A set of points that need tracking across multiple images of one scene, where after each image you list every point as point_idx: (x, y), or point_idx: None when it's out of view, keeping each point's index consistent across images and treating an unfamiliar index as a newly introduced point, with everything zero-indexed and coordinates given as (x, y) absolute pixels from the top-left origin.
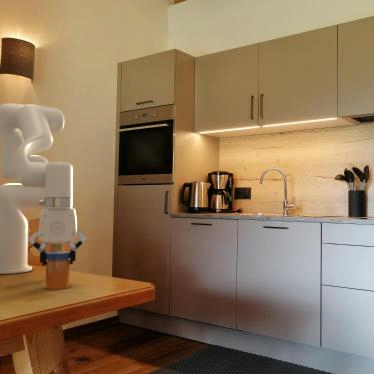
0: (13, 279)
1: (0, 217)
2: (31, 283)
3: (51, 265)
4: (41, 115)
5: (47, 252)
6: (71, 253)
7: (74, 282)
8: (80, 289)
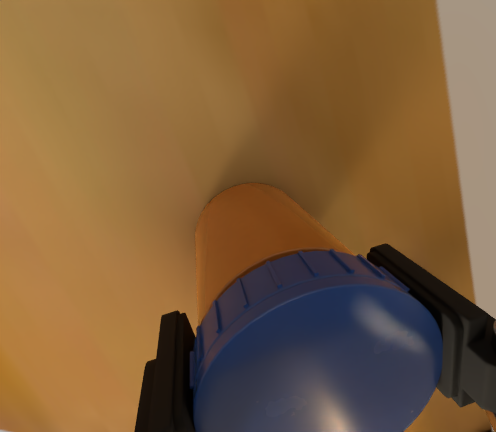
0: None
1: None
2: None
3: (312, 232)
4: None
5: (430, 383)
6: (164, 397)
7: None
8: (102, 184)
